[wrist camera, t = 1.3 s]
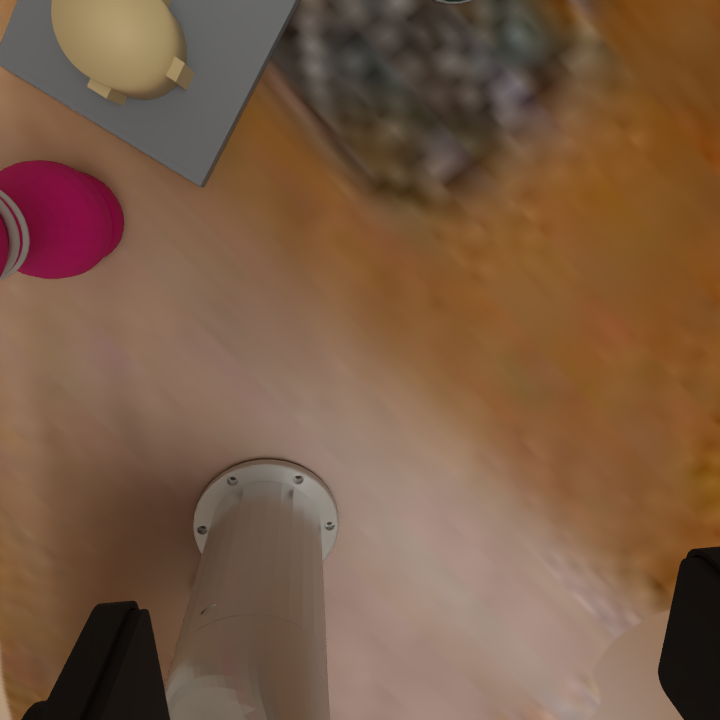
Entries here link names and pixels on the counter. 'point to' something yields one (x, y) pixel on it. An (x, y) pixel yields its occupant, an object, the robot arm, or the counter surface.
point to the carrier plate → (178, 114)
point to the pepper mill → (55, 220)
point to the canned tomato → (452, 1)
